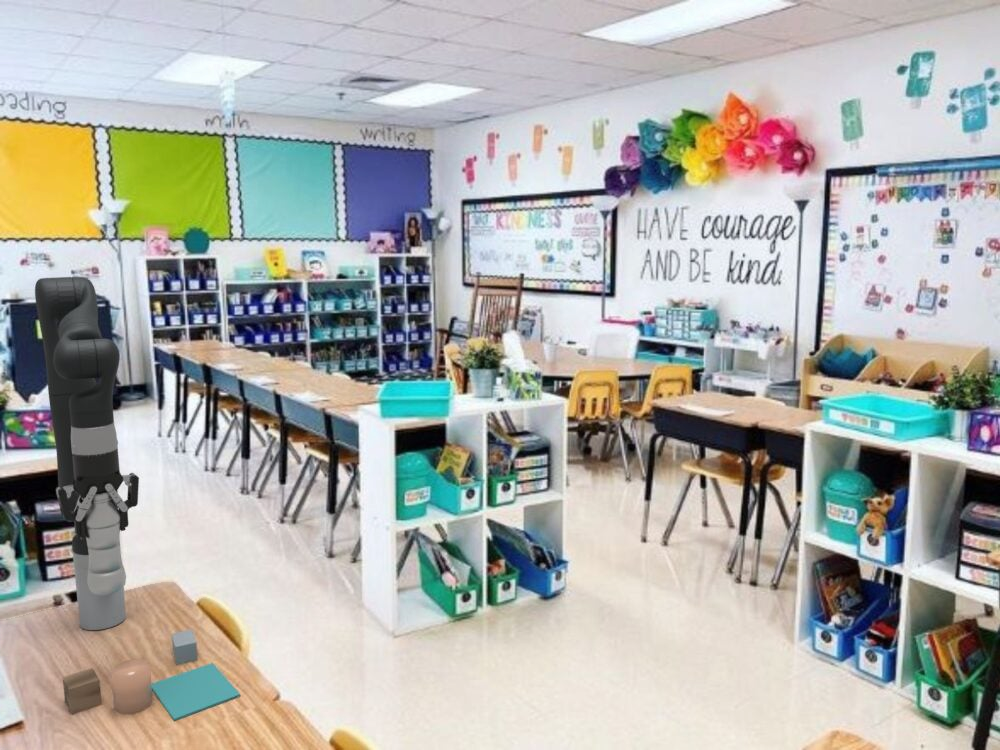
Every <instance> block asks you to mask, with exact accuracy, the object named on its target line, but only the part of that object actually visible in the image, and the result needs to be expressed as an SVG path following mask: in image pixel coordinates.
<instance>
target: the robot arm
mask: <svg viewBox="0 0 1000 750" xmlns="http://www.w3.org/2000/svg"><path fill="white" fill-rule="evenodd" d="M34 299H35V306H36V312H37V316H38V317H37V318H38V322H39V327H40V333H41V340H42V343H43V350H44V357H45V367H46V378H47V379H46V381H47V390H48V391H47V392H48V401H49V408H50V415H51V423H52V427H53V434H54V441H55V442H54V443H55V450H56V451H55V452H56V462H57V463H56V464H57V482H58V483H57V487H56V488H55V495H56V498H57V503H58V505H59V510H60V514H61V517H63V519H64V520H65V521H66V522H69V523H73V526H74V535H73V538H71V539H72V540H71V548H72V558H73V559H72V561H73V570H74V579H75V588H76V589H75V590H76V597H77V598H76V599H77V611H78V620H79V622H78V623H79V627H80V628H81V629H82V630H85V631H87V630H88V631H99V630H100V631H101V630H105V629H106V630H107V629H110V628H112V627H115V626H117V625H119V624H121V623H122V622H124V621H125V620H126V618H127V609H126V599H125V598H126V597H125V586H124V587H123V589H122V590H120V591H119V592H116V593H113V594H109V595H96V594H94V593H92V592H91V591H90V589H89V586H88V583H87V579H88V571H89V552H88V546H87V539H86V532H85V521H84V520H83V517H84V515H85V512H86V510H88V508H89V506H90V503H91V502H92V501H93V497H94V495H95V494H102V493H106V492H108V493H109V495H110V498H112V500H111V501H110V502H111V503H112V504H113V505H114V506H115V507H116V508H117V510H118V511H119V513H120V516H121V521H120V532H123V531H126V528H128V527H129V514H128V512H129V509H132V508H134V507H136V506H138V503H139V502H138V501H139V485H140V484H139V483H140V478H139V476H138V475H137V474H135V473H134V472H130V473H129V474H123V475H122V474H121V471H120V469H121V468H120V459H119V447H118V445H119V441H118V437H117V431H116V426H115V419H114V417H115V416H114V404H113V399H114V398H113V396H114V388H115V387H114V386H115V380H116V377H117V375H118V369H119V365H120V358H121V355H120V350H119V348H118V346H117V344H116V343H115V342H114V341H113V340H111V339H110V338H109V339H108V338H103V337H102V333H101V330H100V327H99V310H98V309H99V308H98V300H97V294H96V289H95V286H94V284H93V282H92V281H91V280H90V278H87V277H86V276H85V277H82V276H63V277H62V276H59V277H57V276H56V277H43V278H39V279H37V281H36V282H35V286H34ZM58 323H59V325H58ZM57 325H58V326H57ZM97 378H98V381H97V380H96V379H97ZM123 482H124V485H126V487H127V498H126V500H125V501H124V500H123V498H122V497H121V496H120V494H119V493H118V490H119V488H120V487H121V485H122V483H123ZM119 544H120V545H121V542H120V543H119ZM120 553H121V548H120ZM121 554H122V553H121Z"/></svg>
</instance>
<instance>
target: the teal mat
mask: <svg viewBox="0 0 1000 750" xmlns="http://www.w3.org/2000/svg"><path fill="white" fill-rule="evenodd" d="M151 686H152V693H154V694H155V696H156V697H157V699H158V701H160V703H161V704H162V706H163V708H165V710H166V712H167V713H168V714H169V716H170V717H171V718H172V720H173V722H176V721H177V720H180V719H184V718H185V717H188V716H192V715H194V714H196V713H199V712H201V711H202V712H203V711H204V710H207V709H210V708H213V707H215V706H218V705H220V704H223V703H226V702H229V701H231V700H234V699H237V698H239V697H241V693H240V692H239V690H237V688H236V687H235V686H234V685H233V684H232V683H231V682H230V681H229V680H228V679H227V677H226V675H224V674H223V673H222V672H221V670H219V669H218V667H217V666H216V665H215V664H214V663H213V662H211V663H208V664H205V665H201V666H198V667H196V668H193V669H189V670H187V671H183V672H182V673H179V674H176V675H172V676H170V677H167V678H164V679H161V680H158V681H155V682H151ZM238 696H239V697H238ZM236 697H237V698H236Z"/></svg>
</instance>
